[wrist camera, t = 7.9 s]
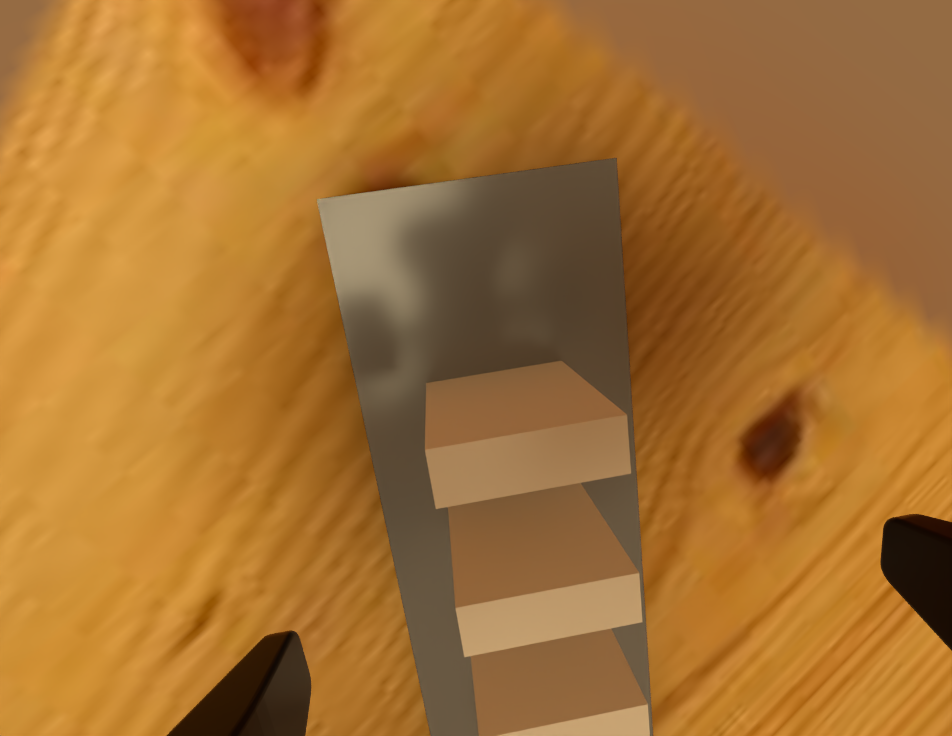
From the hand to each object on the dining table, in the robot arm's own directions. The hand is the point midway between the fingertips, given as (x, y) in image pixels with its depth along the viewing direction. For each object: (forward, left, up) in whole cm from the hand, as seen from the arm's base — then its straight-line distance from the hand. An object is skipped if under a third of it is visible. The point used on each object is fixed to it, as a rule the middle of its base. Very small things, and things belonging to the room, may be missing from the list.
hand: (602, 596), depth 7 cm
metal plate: (-8, 0, -12) cm, 14 cm away
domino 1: (0, 0, -11) cm, 11 cm away
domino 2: (-5, 0, -11) cm, 12 cm away
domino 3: (-9, 0, -11) cm, 14 cm away
